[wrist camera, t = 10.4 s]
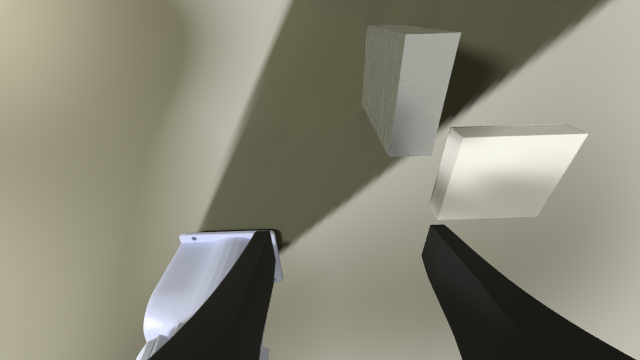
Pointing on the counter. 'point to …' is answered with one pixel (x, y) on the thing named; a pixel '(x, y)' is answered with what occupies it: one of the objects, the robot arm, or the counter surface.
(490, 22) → the counter surface
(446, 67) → the pale grey upright block
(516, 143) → the tile
